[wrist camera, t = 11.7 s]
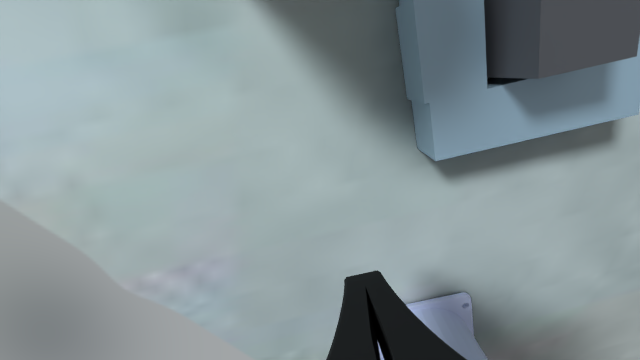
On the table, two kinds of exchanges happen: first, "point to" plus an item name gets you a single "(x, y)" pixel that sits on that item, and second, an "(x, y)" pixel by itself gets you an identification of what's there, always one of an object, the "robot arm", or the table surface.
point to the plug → (558, 35)
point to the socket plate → (495, 85)
